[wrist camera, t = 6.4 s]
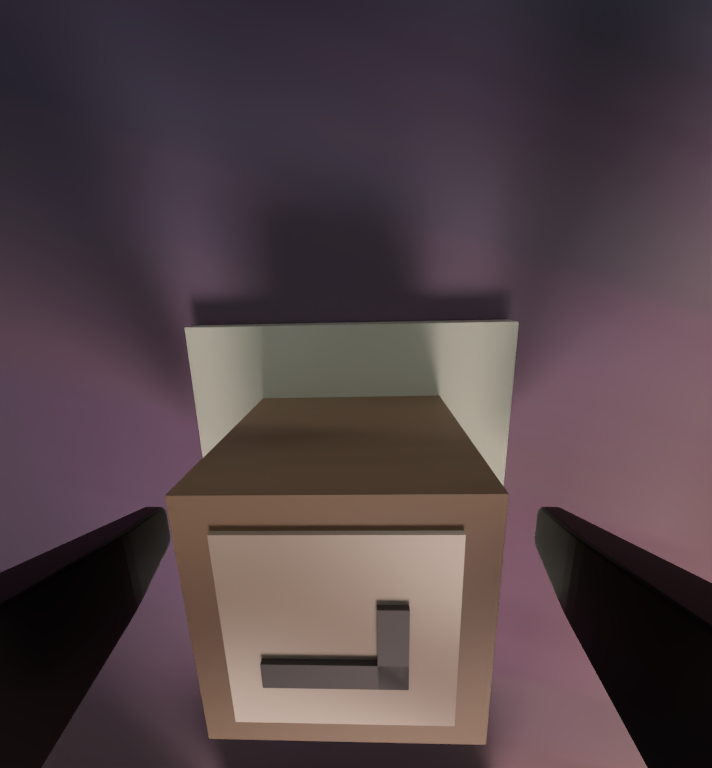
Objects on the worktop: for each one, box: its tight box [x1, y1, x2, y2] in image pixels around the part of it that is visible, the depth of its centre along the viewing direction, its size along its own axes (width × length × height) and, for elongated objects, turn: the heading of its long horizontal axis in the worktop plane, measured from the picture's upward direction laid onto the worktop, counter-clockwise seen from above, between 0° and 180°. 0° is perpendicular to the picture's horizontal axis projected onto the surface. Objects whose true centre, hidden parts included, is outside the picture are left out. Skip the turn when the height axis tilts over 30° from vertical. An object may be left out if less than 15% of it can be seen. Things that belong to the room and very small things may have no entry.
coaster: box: [185, 319, 519, 486], centre depth 11 cm, size 9×9×1 cm
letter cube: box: [165, 395, 509, 745], centre depth 8 cm, size 5×5×5 cm
